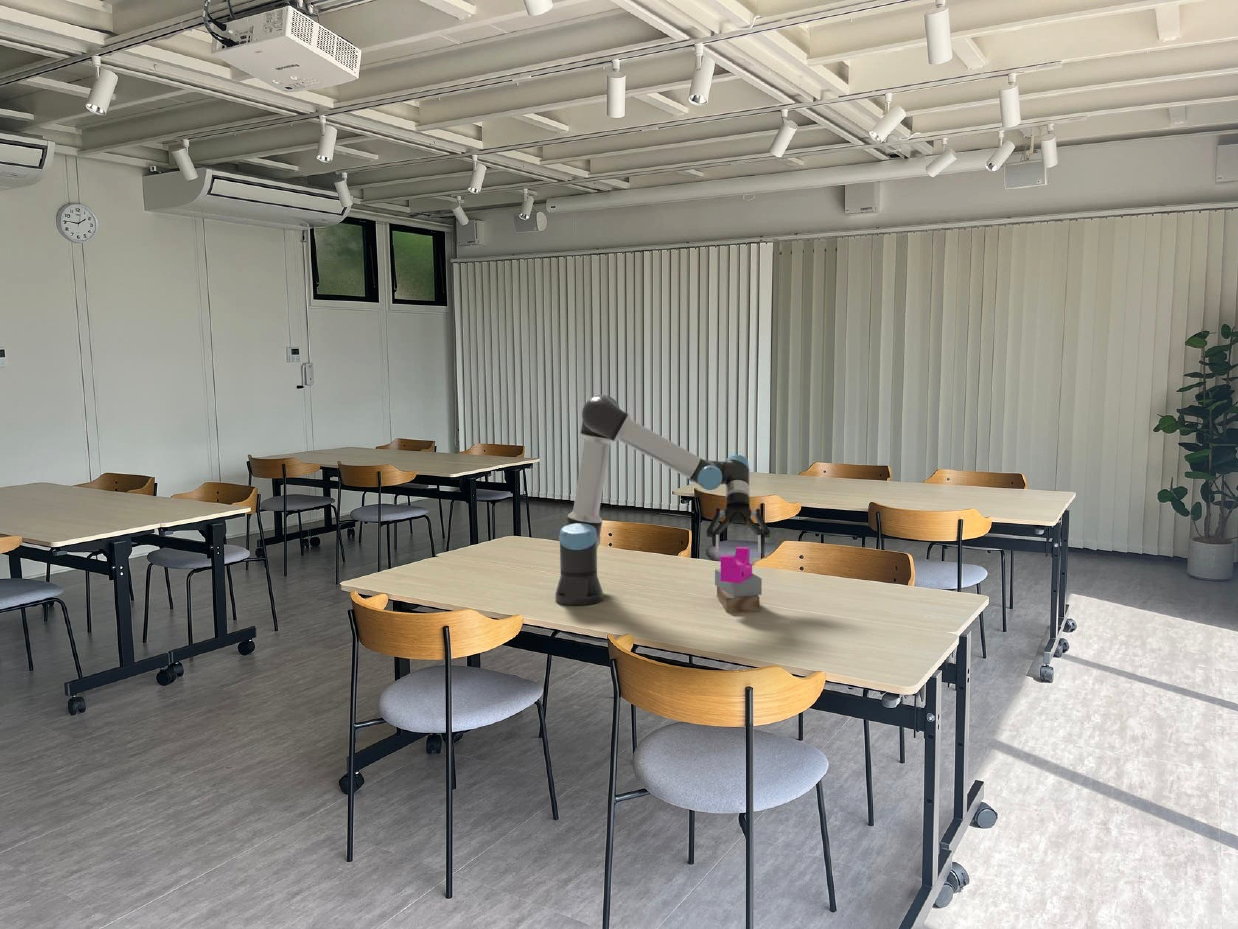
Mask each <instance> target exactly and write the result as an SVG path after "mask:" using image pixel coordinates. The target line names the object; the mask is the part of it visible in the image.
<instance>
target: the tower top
mask: <svg viewBox="0 0 1238 929" xmlns="http://www.w3.org/2000/svg"><path fill="white" fill-rule="evenodd" d="M714 585H715V586H716V587H717V586H718V587H719V588H721V589H722V590H724V591H725V592H727V593H728V594H730V595H731V596H733V597H741V596H753V595H758V596H761V595H762V591H763V590H762V586H763V582H762V578H761V577H760V576H758V575H756V574H754V573H753V572H752V576H751V577H749V578H748V579H746V580H745V581H743V582H741V583H734V582H725V581H721V568H715V569H714Z"/></svg>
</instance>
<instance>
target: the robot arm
mask: <svg viewBox="0 0 1238 929" xmlns="http://www.w3.org/2000/svg"><path fill="white" fill-rule="evenodd" d="M581 419H582V422H581V428H580V435H581V437H582V438H583V445H582V450H581V458H580V465H579V470H578V477H577V485H576V489H575V490H576V491H575V495H574V502H573V504H574V505H573V510H572V511H571V512H570V513H568V514H567V517H566V518H567V519H566V525H565V526H563V527H562V528H560V531H559V536H558V541H559V555H560V556H559V558H560V559H559V560H560V565H559V569H560V576H559V580H558V584H557V587H556V591H555V594H554V595H555V596H554V597H555V602H557V603H558V604H562V605H565V606H566V605H567V606H587V605H594V604H597V603H600V602H602V601H603V600H604V592H603V588H602V586H601V582H600V579H599V577H598V548H599V545H600V543H601V531H602V528H603V527H602V526H603V519H602V518H601V516H600V508H601V503H602V496H603V491H604V484H605V478H606V471H607V467H608V466H607V465H608V458H609V455H610V454H609V452H610V447H611V446H610V445H611V444H612V443H613V442H614V443H615V442H619V441H620V442H621V443H623V444H624V445H627V446H629V447H630V448H632V449H634V450H635V451H637V452H639V453H641V454H643V455H645V456H647V457H648V458H650V459H653V460H654V461H655V462H657V463H659V464H661V465H663V466H665V467H666V468H669V469H670V470H672V471H673V472H676V473H677V474H680V475H681V476H683V477H685V478H686V479H688V480H689V482H691V483H696V484H697V485H699V486H700V487H701V488H702V489H704V490H706V491H714V490H716V489H718V488H719V487H720V485H725V509H724V510H723V509H720V508H716V509H715V514H714V516H713V517H712V520H711V521H710V524H709V525H708V527H707V529H706V538H707V537H708V538H711V546H712V547H715V558H718V557H719V535H720V534H722V533H723V531H724V530H725V529H726V528H727V527H728V526H730V525H731V524H734V525H737V524H740V525H742V524H745V525H746V526H747V527H748V528H750V530H751V531H752V532H753V533H754V534H755V535H756V536H757V551H758V552H757V553H758V554H757V556H758V558H760V559H761V557H762V548H764V547H765V539H766V538H770V537H771V530H770V528H769V527H768V525H767V523H766V521H765V520H764V518H763V517H762V515H761V510H760V508H756V509H755V510H752V509H751V502H750V501H751V499H750V497H751V495H750V467H749V466H750V465H749V461H748V458H746V456H743V455H741V454H734V455H730V456H728V457H727V458H726V460H724V461H721V460H720V461H719V460H707V459H706V460H705V459H703V458H701V457H700V456H698V455H696V454H694V453H693V452H690V451H689V450H687V449H685V448H684V447H681V446H679V445H678V444H677V443H674V442H673V441H671V440H669V439H667V438H665V437H663V436H662V435H660V434H658V433H656V432H655V431H653V430H650V429H649V428H647V427H646V426H643V425H642V424H640V423H638V421H637V422H636V421H635V420H633V419H632V418H631V415H630V414H629V413H628V412H625V411H624V410H622V409H621V408H620V405H619V403H618V402H617V400H616V399H614V398H613V397H611V396H609V395H605V394H597V395H594V396H592V397H590V399H589V400H587V401H586V402H585V404H584V406H583V408H582V411H581ZM723 516H725V518H724V519H723V520H722V521H721V523H719V521H720V519H721V518H722V517H723ZM751 516H753V517H754V519H756V521H757V523H758V524H757V523H756V522H754V521H753V520H752V517H751ZM718 523H719V524H718ZM717 524H718V526H717Z"/></svg>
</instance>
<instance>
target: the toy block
mask: <svg viewBox="0 0 1238 929" xmlns="http://www.w3.org/2000/svg"><path fill="white" fill-rule="evenodd" d="M750 553H751V552H750V547H741V546H737V547H735V554H734V555H732V554H731V555H730V554H722V555H721V556H720V569H721V581H725V582H734V583H741V582H743V581H745V580H746V579H748V578H749V577H751V576H752V573H753V564H751V563H750V562H751V561H750Z"/></svg>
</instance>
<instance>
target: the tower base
mask: <svg viewBox="0 0 1238 929" xmlns="http://www.w3.org/2000/svg"><path fill="white" fill-rule="evenodd" d="M717 597H718V598H717ZM716 598H717V600H718V599H719V600H718V601H719V603H720V604H722V605H723V606H722V605H721V606H722V608H723V610H724V612H725V613H751V612H750V611H759V612H760V595H753V596H741V597H733V596H731V595H730V594H728V593H727V592H725V591H724V590H722V589H721V588H719V587H718V586H716ZM748 611H749V612H748Z"/></svg>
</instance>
